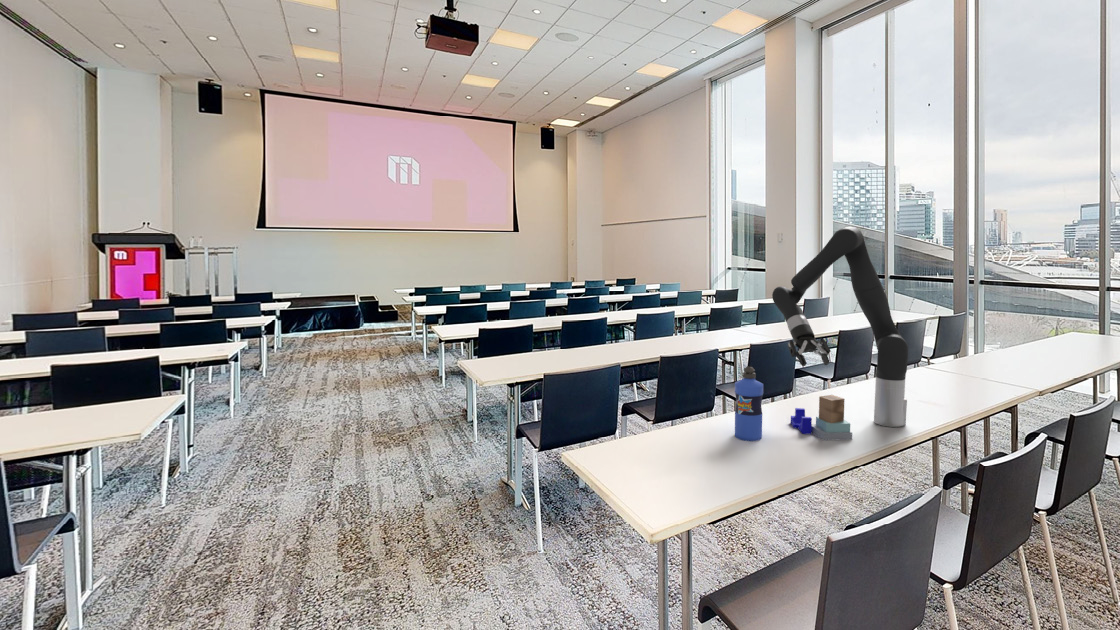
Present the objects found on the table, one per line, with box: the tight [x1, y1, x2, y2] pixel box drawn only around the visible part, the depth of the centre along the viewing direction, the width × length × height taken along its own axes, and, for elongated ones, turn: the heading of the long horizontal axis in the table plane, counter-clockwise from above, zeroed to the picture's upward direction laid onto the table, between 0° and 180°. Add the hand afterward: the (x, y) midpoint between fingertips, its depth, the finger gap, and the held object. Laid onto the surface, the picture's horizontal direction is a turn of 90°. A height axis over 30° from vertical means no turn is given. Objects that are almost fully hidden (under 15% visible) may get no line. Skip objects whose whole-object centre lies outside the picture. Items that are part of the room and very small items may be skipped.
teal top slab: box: [815, 416, 851, 432], centre depth 185 cm, size 8×8×3 cm
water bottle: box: [734, 365, 764, 442], centre depth 184 cm, size 9×9×25 cm
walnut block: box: [818, 394, 845, 423], centre depth 185 cm, size 6×6×8 cm
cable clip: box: [790, 407, 813, 435], centre depth 193 cm, size 12×4×6 cm, turn 167°
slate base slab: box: [811, 423, 853, 441], centre depth 186 cm, size 10×10×3 cm
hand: (816, 364), depth 194 cm, fingers open, 8 cm apart
